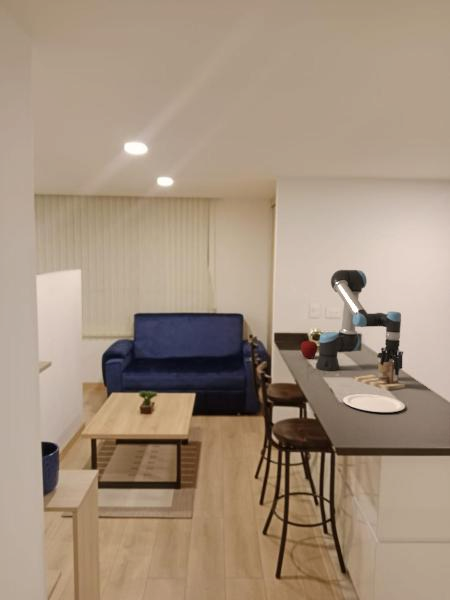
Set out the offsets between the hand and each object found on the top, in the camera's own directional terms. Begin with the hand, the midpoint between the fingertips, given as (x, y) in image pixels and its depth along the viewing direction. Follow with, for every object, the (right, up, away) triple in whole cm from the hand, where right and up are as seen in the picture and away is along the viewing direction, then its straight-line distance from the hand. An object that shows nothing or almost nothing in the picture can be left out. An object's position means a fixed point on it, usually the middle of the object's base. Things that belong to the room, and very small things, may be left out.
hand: (390, 379), depth 273 cm
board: (-6, -3, +4) cm, 8 cm away
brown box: (-3, -2, -1) cm, 3 cm away
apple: (-34, +3, +71) cm, 79 cm away
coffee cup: (+2, -3, +17) cm, 17 cm away
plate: (-21, -7, -38) cm, 44 cm away
